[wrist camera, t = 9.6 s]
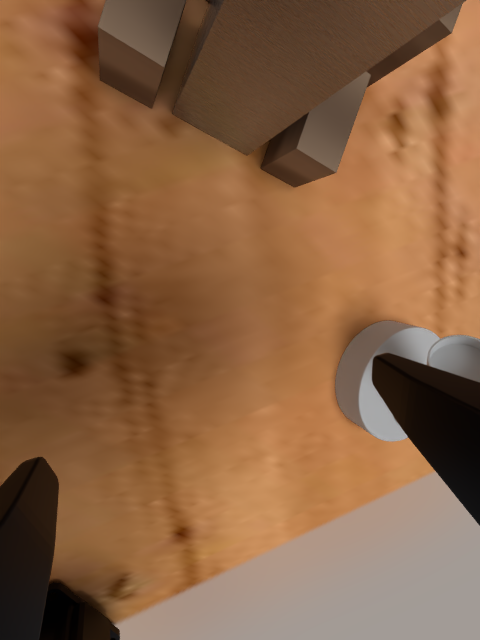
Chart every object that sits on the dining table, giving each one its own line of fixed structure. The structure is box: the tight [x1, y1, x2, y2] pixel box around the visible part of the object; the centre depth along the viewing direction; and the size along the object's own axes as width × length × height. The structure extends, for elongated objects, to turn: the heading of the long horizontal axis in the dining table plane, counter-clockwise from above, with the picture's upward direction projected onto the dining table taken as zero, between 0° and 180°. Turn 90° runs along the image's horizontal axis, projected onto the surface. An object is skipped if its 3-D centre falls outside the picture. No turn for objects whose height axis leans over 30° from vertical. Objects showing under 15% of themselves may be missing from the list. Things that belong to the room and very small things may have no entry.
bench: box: [98, 0, 463, 187], centre depth 14 cm, size 8×14×7 cm, turn 69°
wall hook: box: [335, 321, 480, 441], centre depth 21 cm, size 9×10×10 cm
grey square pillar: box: [172, 0, 466, 155], centre depth 12 cm, size 4×4×13 cm
